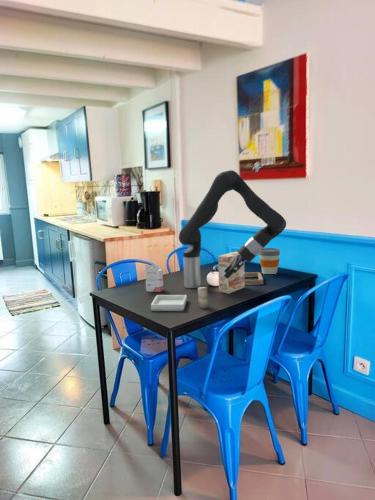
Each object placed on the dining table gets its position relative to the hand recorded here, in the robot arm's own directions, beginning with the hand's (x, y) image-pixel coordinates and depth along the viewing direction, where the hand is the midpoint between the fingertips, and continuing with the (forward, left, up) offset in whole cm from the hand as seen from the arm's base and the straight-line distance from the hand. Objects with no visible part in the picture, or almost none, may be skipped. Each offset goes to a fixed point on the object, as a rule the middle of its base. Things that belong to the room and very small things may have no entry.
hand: (225, 274), depth 171 cm
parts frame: (-48, +11, -15) cm, 52 cm away
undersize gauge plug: (0, -11, -15) cm, 19 cm away
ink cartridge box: (-28, -39, -16) cm, 50 cm away
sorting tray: (-2, -27, -15) cm, 31 cm away
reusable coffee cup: (-65, +27, -15) cm, 72 cm away
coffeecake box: (-29, +3, -16) cm, 33 cm away
